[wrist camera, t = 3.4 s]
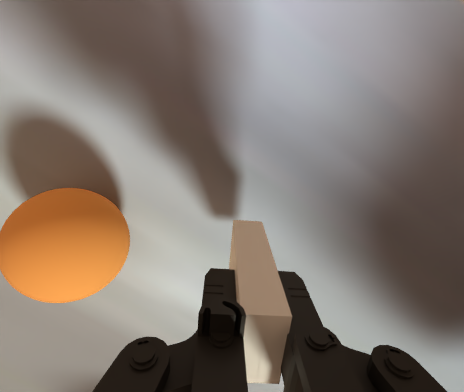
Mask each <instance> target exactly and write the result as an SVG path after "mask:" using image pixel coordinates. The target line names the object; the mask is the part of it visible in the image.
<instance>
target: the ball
mask: <svg viewBox="0 0 464 392" xmlns="http://www.w3.org/2000/svg"><path fill="white" fill-rule="evenodd" d="M129 246H130V235H129V229H128V225H127V223H126V220H125V218H124V216H123V214H122V213H121V212H120V210H119V209H118V208H117V207H116V206H115V205H114V204H113V203H112V202H111V201H110V200H108V199H107V198H105V197H104V196H102V195H100V194H97V193H95V192H92V191H89V190H85V189H79V188H60V189H54V190H50V191H46V192H43V193H40V194H38V195H36V196H34V197H32V198H30V199H29V200H27V201H25V202H24V203H22V204H21V205H20V206H19V207H18V208H17V209H15V210H14V211H13V212H12V214H11V215H10V216H9V217H8V219H7V220H6V222H5V223H4V225H3V227H2V229H1V231H0V270H1V272H2V274H3V275H4V277H5V278H6V280H7V281H8V282H9V284H10V285H11V286H12V287H13V288H15V289H16V290H17V291H19V292H20V293H22V294H23V295H25V296H27V297H30V298H32V299H35V300H38V301H42V302H49V303H65V302H71V301H76V300H80V299H83V298H86V297H88V296H90V295H92V294H94V293H96V292H98V291H99V290H101V289H102V288H104V287H105V286H106V285H108V284H109V283H110V282H111V281H112V280H113V279H114V278H115V277H116V275H117V274H118V273H119V271H120V270H121V268H122V267H123V265H124V263H125V261H126V258H127V255H128V251H129Z"/></svg>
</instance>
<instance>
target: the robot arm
mask: <svg viewBox="0 0 464 392" xmlns="http://www.w3.org/2000/svg"><path fill="white" fill-rule="evenodd" d="M281 372H282V377H283V381H284V391H283V392H447V391H446V390H445V389H444V388H443V387H442V386H441V385H440V384H439V383H438V382H437V381H436V380H435V379H434V378H433V377H432V376H431V375H430V374H429V373H428V372H427V371H426V370H425V369H424V368H423V367H422V366H421V365H420V364H419V363H418V362H417V361H416V360H415V359H414V358H412V357H411V356H410V355H409V354H407V353H406V352H404V351H402V350H400V349H398V348H396V347H392V346H389V345H379V346H377V347H375V348H374V349H373V351H372V353H371V355H369V354H366V353H363V352H360V351H356V350H353V349H350V348H348V347H345V346H343V345H341V343H340V341H339V340H338V338H337V337H336V335H335V334H333V333H332V332H331V331H330V330H329V329H327V328H325V327H323V324H322V322H321V320H320V318H319V316H318V313H317V311H316V309H315V307H314V304H313V302H312V300H311V298H310V295H309V293H308V291H307V289H306V286H305V284H304V282H303V280H302V279H301V278H300V277H299V276H298V275H297V274H296V273H295V272H285V271H277V267H276V264H275V261H274V258H273V255H272V252H271V249H270V245H269V242H268V239H267V236H266V233H265V230H264V227H263V223H262V222H258V221H243V220H233V230H232V241H231V252H230V262H229V269H214V268H211V269H210V270H209V271H208V273H207V274H206V275H205V281H204V290H203V299H202V307H201V309H200V311H199V317H198V329H197V331H196V333H195V334H194V335H193V336H192V337H190V338H189V339H187V340H185V341H183V342H180V343H177V344H173V345H169V346H167V344H166V343H165V342H164V341H163V340H161V339H159V338H156V337H143V338H139V339H136V340H134V341H133V342H131V343H129V344H128V345H127V346H126V347H125V348H124V349H123V350H122V351H121V352H120V353H119V355H118V356H117V358H116V359H115V360H114V362H113V363H112V365H111V366H110V368H109V369H108V370H107V372H106V373H105V375H104V376H103V377H102V379H101V380H100V382H99V383H98V385H97V386H96V387H95V389H94V390H93V392H248V386H247V383H272V384H279V382H280V376H281Z"/></svg>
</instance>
